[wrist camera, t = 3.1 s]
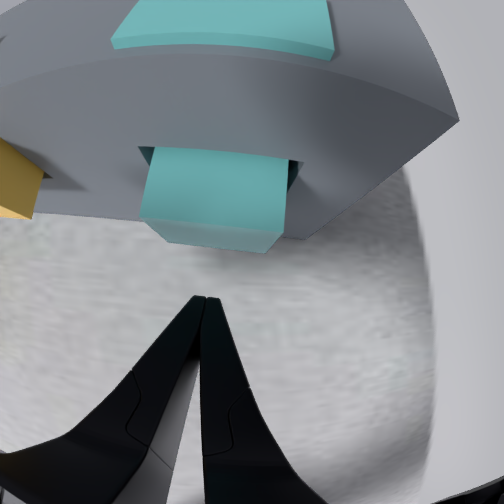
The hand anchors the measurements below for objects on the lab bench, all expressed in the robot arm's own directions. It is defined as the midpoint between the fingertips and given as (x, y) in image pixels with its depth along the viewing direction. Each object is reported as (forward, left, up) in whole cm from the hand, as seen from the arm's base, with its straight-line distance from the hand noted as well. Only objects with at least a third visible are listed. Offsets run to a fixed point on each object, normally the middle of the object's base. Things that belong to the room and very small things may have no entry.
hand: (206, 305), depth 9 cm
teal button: (+3, -3, -2) cm, 5 cm away
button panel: (+8, -1, -8) cm, 11 cm away
